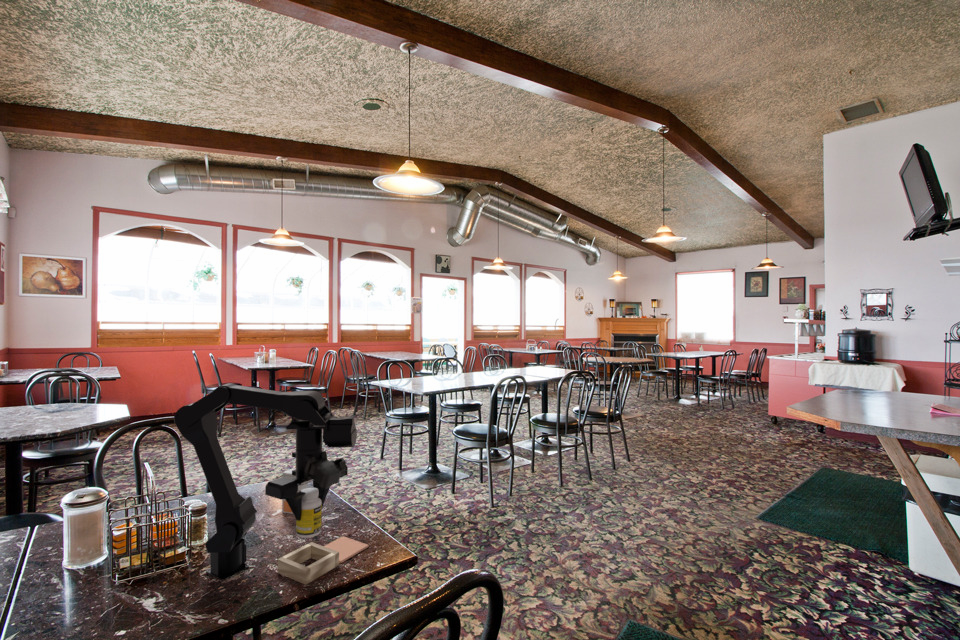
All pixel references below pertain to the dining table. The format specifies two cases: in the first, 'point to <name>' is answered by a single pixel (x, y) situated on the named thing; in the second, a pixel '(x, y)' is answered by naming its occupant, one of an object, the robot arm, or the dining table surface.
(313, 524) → the supplement bottle
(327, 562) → the pocket block
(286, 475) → the skincare box
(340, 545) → the tile
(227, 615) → the dining table surface
